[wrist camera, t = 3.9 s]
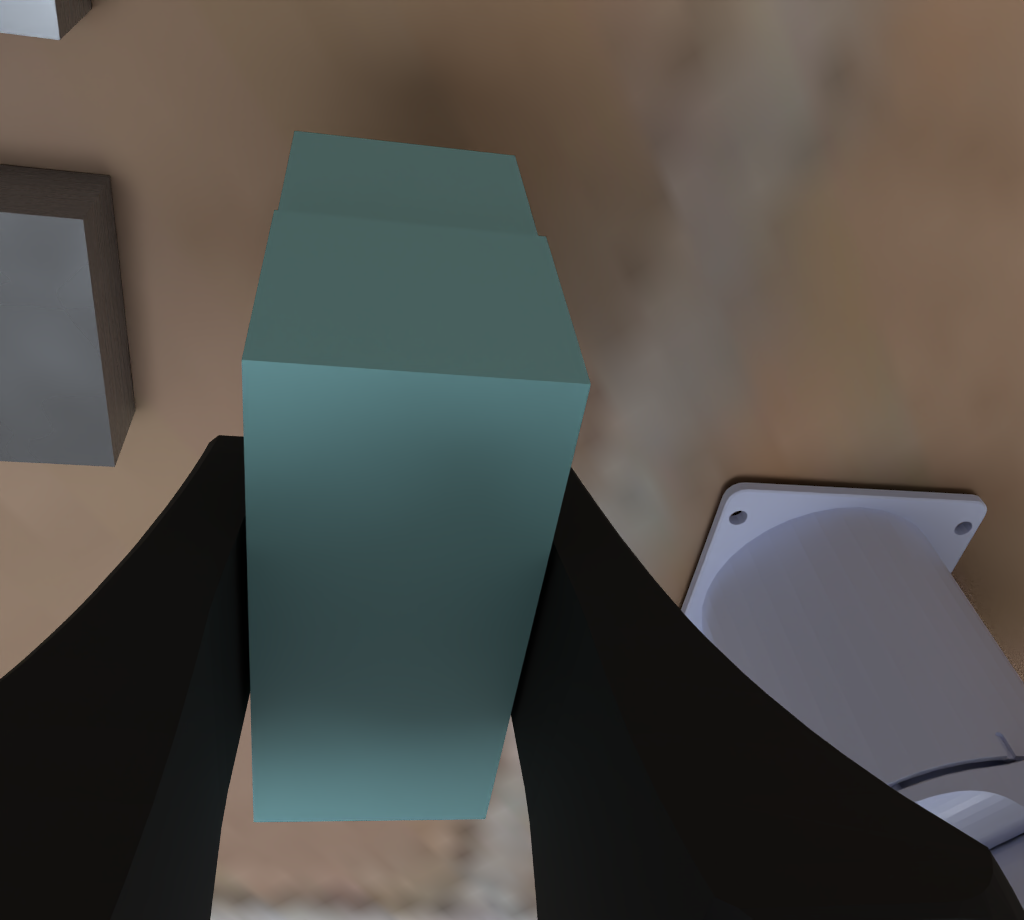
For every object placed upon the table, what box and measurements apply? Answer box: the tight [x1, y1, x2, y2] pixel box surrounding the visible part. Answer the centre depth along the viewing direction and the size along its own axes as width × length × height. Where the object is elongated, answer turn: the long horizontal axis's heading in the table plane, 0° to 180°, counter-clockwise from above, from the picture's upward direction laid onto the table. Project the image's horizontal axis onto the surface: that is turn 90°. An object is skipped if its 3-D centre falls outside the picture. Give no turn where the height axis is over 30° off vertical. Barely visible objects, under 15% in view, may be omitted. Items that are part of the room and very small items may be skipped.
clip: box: [242, 131, 591, 822], centre depth 13 cm, size 7×3×6 cm, turn 171°
